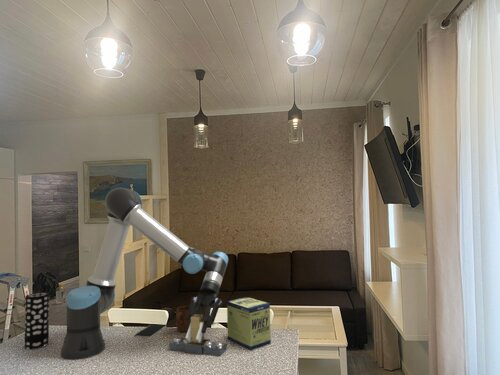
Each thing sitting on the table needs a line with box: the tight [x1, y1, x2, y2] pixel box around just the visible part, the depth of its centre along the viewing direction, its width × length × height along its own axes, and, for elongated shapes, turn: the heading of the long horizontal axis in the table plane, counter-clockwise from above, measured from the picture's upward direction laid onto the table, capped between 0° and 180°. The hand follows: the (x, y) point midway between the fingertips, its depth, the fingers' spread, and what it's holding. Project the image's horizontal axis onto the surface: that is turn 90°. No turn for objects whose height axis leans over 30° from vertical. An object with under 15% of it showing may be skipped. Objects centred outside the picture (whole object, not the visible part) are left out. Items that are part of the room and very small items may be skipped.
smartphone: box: [133, 323, 167, 339], centre depth 153 cm, size 8×1×15 cm
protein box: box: [226, 296, 272, 351], centre depth 139 cm, size 10×16×16 cm
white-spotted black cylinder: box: [23, 292, 50, 350], centre depth 141 cm, size 8×8×20 cm
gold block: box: [191, 313, 205, 345], centre depth 132 cm, size 4×4×11 cm
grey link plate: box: [168, 337, 228, 357], centre depth 131 cm, size 21×7×3 cm, turn 71°
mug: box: [175, 305, 190, 333], centre depth 153 cm, size 12×8×9 cm, turn 166°
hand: (192, 340), depth 128 cm, fingers closed on gold block, 4 cm apart
